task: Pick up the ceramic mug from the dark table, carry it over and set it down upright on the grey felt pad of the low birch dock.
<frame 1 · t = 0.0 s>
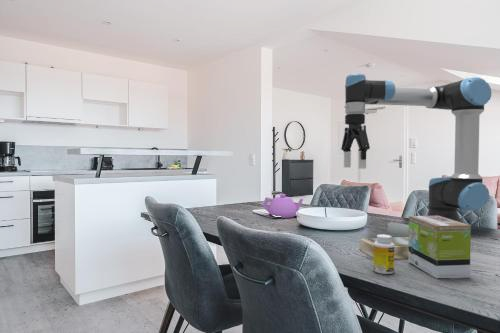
hand: (354, 168, 144), 28 cm above the table, tool pointing down, fingers open, 13 cm apart
teapot: (282, 216, 198), on the table
tea box: (437, 271, 105), on the table
dock: (393, 253, 122), on the table
supplement bottle: (383, 272, 103), on the table
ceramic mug: (398, 242, 138), on the table
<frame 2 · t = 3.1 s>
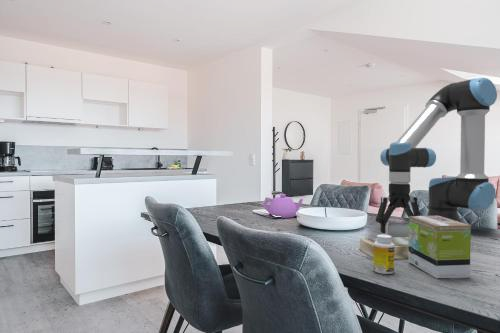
hand: (398, 241, 138), 0 cm above the table, tool pointing down, fingers closed on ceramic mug, 10 cm apart
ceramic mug: (398, 242, 139), on the table, touching gripper
everything else where it was.
when the fingers open (6 cm above the table, at t = 7.7 s): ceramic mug drops 2 cm, resting on dock.
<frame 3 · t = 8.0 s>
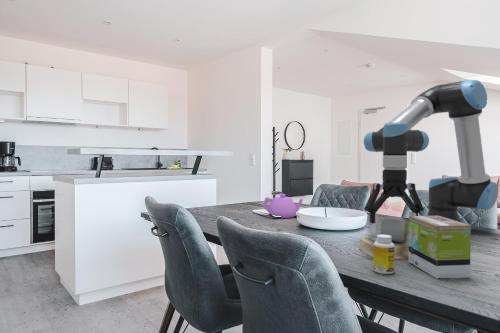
hand: (393, 232, 122), 7 cm above the table, tool pointing down, fingers open, 13 cm apart
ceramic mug: (393, 241, 123), point 4 cm above the table, touching dock
everything else where it was.
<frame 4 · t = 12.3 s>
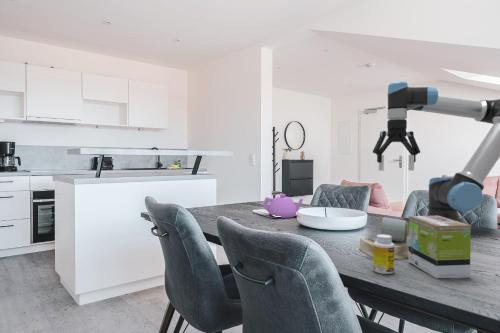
hand: (396, 170, 153), 27 cm above the table, tool pointing down, fingers open, 13 cm apart
nothing on the table moved.
at the end: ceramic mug inside the target area on the dock (1.4 cm from its centre), point 4.1 cm above the dock's base; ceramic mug tilted 1°; the gripper is holding nothing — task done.
